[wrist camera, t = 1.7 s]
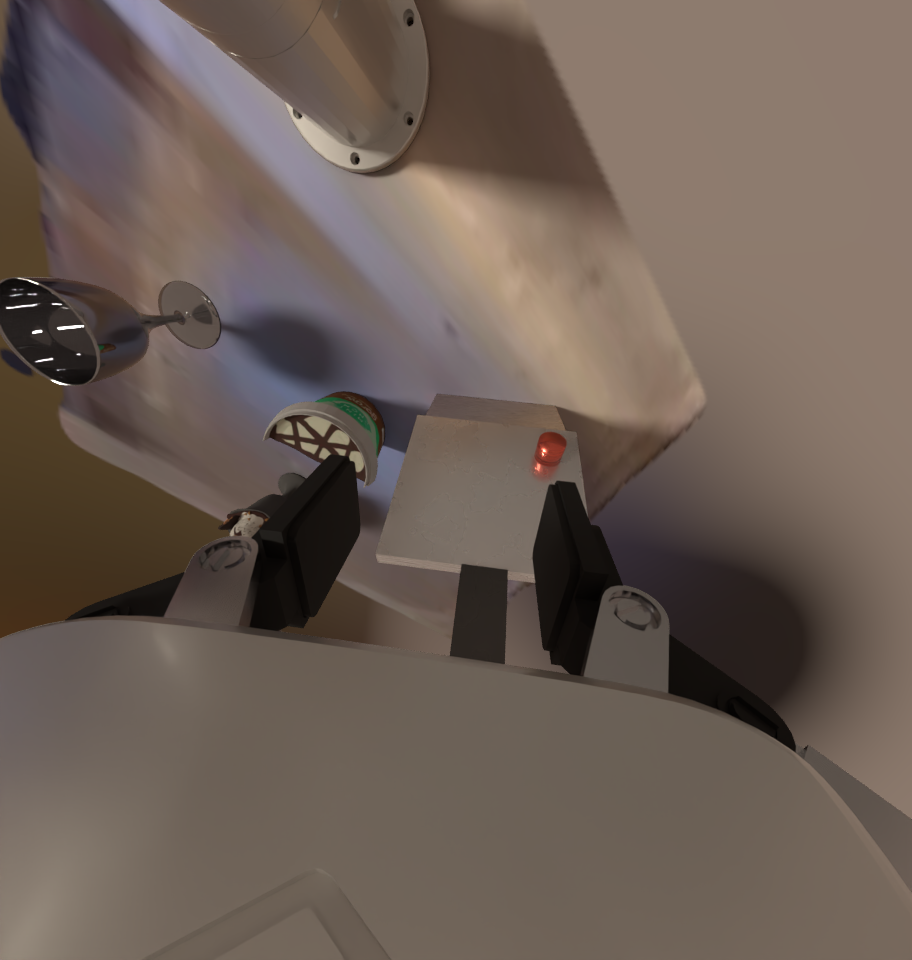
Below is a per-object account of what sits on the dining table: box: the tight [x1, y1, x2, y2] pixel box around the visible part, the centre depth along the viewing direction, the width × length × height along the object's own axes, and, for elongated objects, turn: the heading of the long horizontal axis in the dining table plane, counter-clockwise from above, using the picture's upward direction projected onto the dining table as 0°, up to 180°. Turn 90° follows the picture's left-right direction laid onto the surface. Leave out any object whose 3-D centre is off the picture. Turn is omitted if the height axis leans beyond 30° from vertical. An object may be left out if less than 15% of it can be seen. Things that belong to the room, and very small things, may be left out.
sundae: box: [218, 473, 305, 538], centre depth 45 cm, size 7×7×15 cm
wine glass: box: [0, 277, 220, 386], centre depth 34 cm, size 8×8×15 cm
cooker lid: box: [376, 415, 588, 664], centre depth 25 cm, size 20×14×3 cm
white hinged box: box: [425, 394, 566, 431], centre depth 42 cm, size 20×14×10 cm
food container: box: [263, 391, 385, 488], centre depth 40 cm, size 12×6×10 cm, turn 63°
